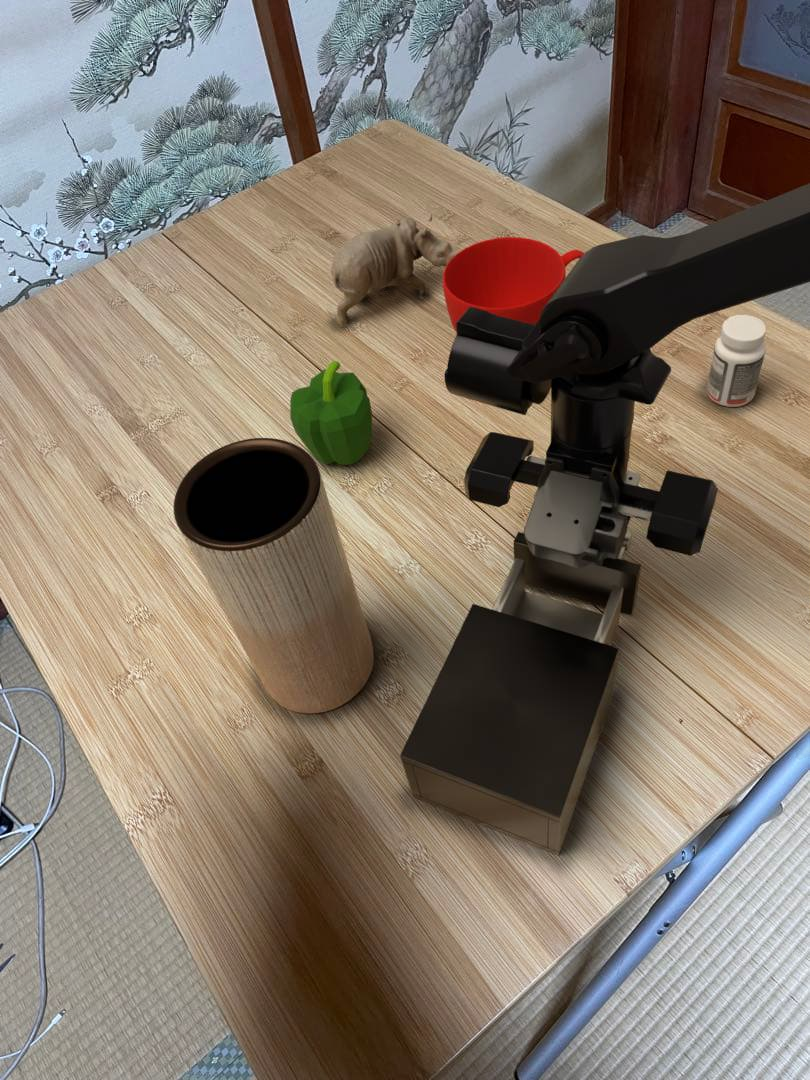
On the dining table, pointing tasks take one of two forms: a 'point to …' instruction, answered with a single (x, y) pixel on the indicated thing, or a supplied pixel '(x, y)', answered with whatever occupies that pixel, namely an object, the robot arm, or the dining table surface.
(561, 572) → the drawer
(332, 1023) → the dining table surface
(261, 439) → the planter
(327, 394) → the bell pepper
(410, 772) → the drawer cabinet
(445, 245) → the rhinoceros figurine
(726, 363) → the pill bottle
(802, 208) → the robot arm
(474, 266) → the ceramic cup
